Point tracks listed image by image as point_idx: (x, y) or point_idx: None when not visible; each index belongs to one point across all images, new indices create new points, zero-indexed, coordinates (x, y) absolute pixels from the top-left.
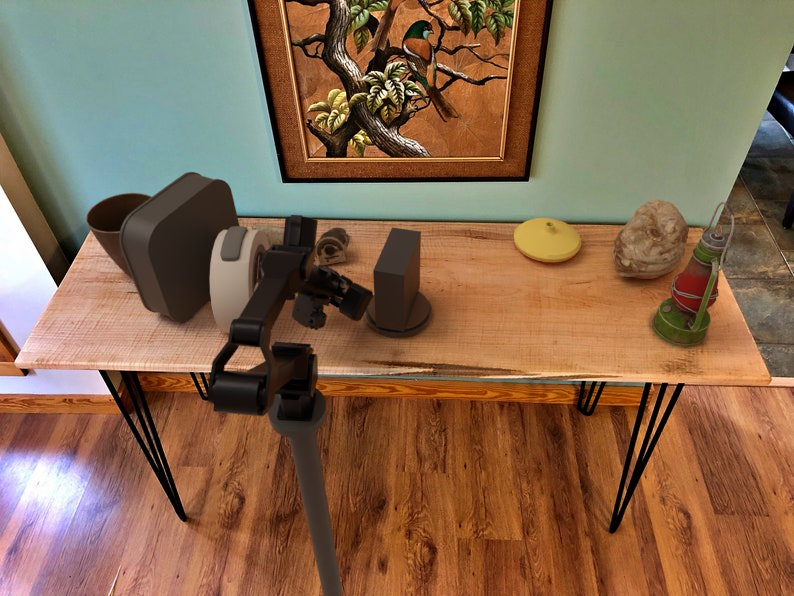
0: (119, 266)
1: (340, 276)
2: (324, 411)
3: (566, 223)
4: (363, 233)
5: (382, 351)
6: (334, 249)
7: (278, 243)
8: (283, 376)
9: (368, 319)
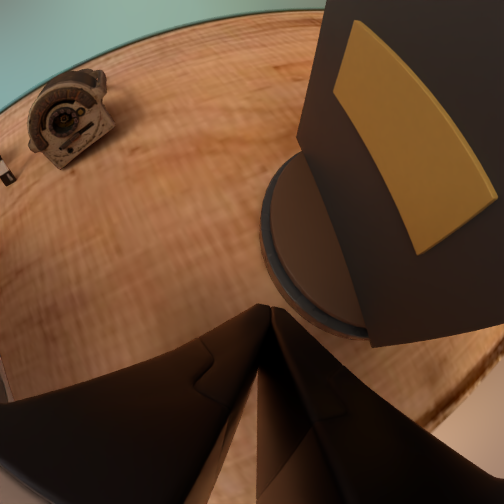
0: None
1: (224, 419)
2: None
3: None
4: (129, 63)
5: (401, 394)
6: (73, 112)
7: None
8: None
9: (315, 318)
